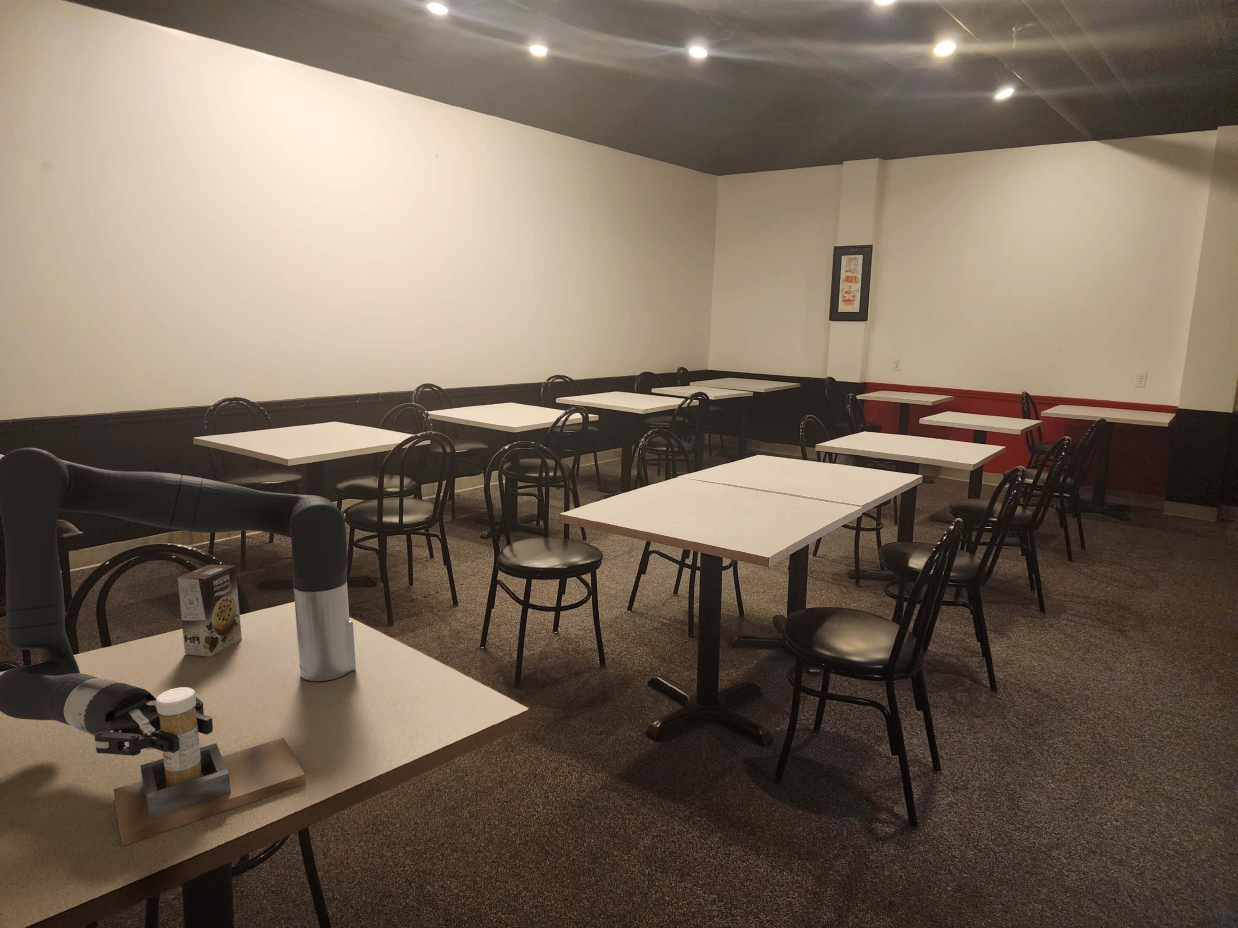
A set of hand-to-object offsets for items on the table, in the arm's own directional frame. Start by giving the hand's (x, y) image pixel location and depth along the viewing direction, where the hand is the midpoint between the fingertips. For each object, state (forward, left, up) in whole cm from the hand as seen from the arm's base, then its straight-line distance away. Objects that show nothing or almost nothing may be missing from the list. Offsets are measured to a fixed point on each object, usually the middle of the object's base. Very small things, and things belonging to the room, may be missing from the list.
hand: (193, 735), depth 101 cm
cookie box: (-11, -56, -10) cm, 58 cm away
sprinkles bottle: (+1, -2, -8) cm, 9 cm away
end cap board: (-2, -2, -10) cm, 11 cm away
